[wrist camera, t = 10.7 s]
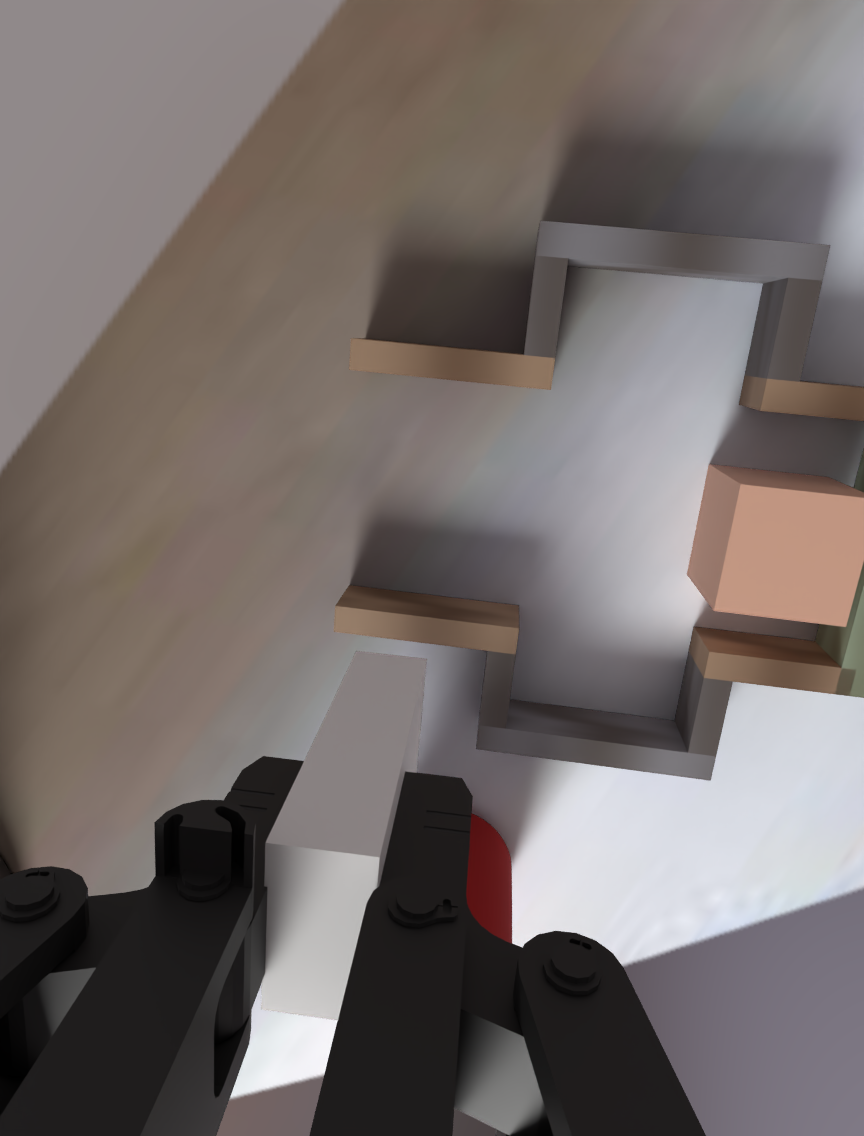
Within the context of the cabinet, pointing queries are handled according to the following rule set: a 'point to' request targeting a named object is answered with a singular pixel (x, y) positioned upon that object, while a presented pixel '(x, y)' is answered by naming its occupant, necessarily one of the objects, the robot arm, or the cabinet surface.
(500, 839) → the beverage can
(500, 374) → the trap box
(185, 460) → the cabinet surface
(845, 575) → the block
